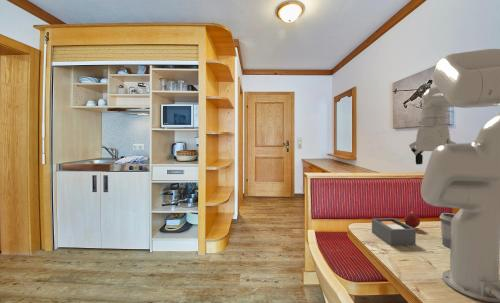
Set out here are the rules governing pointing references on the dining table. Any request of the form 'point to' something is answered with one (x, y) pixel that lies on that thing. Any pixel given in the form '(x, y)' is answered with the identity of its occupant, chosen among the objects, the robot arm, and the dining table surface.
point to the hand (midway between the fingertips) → (432, 165)
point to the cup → (446, 228)
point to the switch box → (394, 232)
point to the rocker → (391, 225)
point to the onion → (411, 220)
